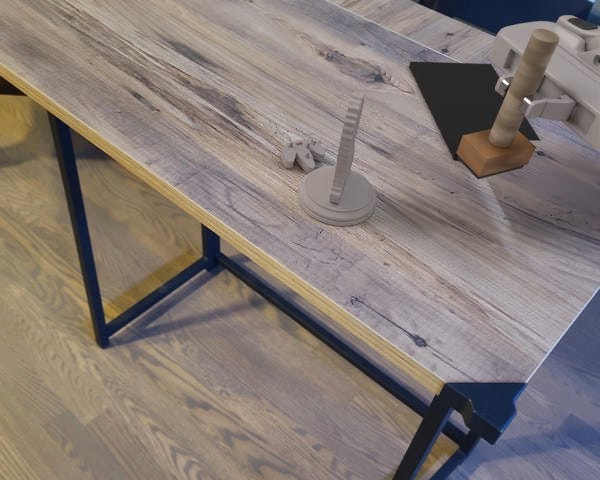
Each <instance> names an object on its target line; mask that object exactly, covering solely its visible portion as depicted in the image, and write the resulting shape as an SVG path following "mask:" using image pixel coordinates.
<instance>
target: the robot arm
mask: <svg viewBox="0 0 600 480" xmlns="http://www.w3.org/2000/svg"><path fill="white" fill-rule="evenodd" d="M535 29H546V30H550V31H552V32H554V33H556V34H557V35H558V36H559V42H558V44H557V46H556V49H555V51H554V53H553V55H552V57H551V59H550V62H549V64H548V66H547V68H546V70H545V72H544V75H543V77H542V79H541V81H540V83H539V86H538V88H537V90H536V92H535V94H534V95H532V96H527V97H525V98H524V99H523V101H522V105H521V106H520V107H519V111H520V112H521V113H522V114H523V115H524V116H525V117H526V119H527V120H532V119H538V118H540V119H545V120H550V121H553V122H561V123H562V124H564V125H565V126H566V127H567V128H569V129H570V130H571V131H572V132H573V133H574V134H576V136H578V137H579V138H580V139H582V141H584V142H585V143H586V144H587V145H589V146H590V147H591V148H592V149H593V150H594V151H596V152H597V153H598V154H600V25H597V24H595V23H592V22H589V21H587V20H585V19H582V18H579V17H578V16H574V15H571V14H565V15H560V16H559V17H558V19H557V21H556V22H554V21H547V20H537V21H529V22H523V23H516V24H513V25H507V26H504V27H502V28H501V29H500V30H499V31H498V32H497V33H496V35H495V37H494V39H493V42H492V45H491V48H490V51H489V54H488V61H489V62H490V64H491V65H492V66H495V67H496V68H497V69H498V70H499V71H500V72H501V73H503V74H502V75H500V76H499V77H500V78H499V79H498V82H497V84H496V87H495V90H496V91H497V92H498V93H499V94H500V95H501V96H503V97H504V98H505V96H506V94H507V91H508V89H509V87H510V84H511V82H512V79H513V77H514V75H515V72H516V70H517V68H518V65H519V63H520V60H521V58H522V56H523V53H524V51H525V48H526V46H527V44H528V41H529V39H530V36H531V34H532V32H533V30H535Z"/></svg>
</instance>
